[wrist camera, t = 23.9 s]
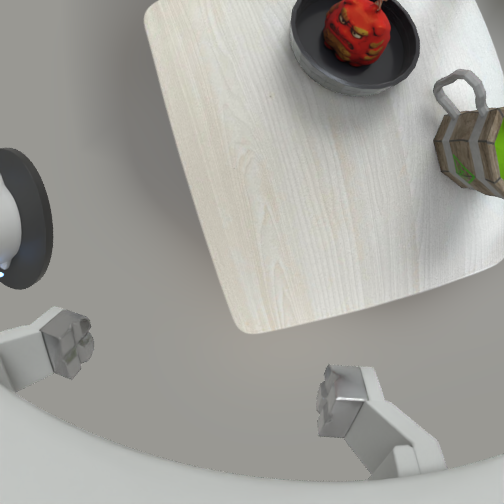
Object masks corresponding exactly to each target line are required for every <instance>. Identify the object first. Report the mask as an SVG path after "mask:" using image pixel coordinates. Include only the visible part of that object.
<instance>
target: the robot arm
mask: <svg viewBox="0 0 504 504" xmlns="http://www.w3.org/2000/svg"><path fill="white" fill-rule="evenodd" d="M21 234H22V231H21V220H20V215H19V211H18V208H17V205H16V202H15V200H14V198H13V196H12V195H11V193H10V192H9V190H8V189H7V188H6V186H5V185H4V182H3V179H2V176H1V174H0V267H1V268H2V269H4V270H5V269H8V268H9V266H10V263H11V259H12V258H13V257H14V256H15V255H16V254H17V252H18V250H19V247H20V243H21ZM2 276H3V273H1V272H0V277H2ZM90 328H91V324H90V320H89V319H88V318H87V317H86V316H83V315H80V314H77V313H75V312H72V311H69V310H65V309H62V308H60V307H57V306H55V307H52V308H51V309H49V310H48V311H47V312H45V313H44V314H43V315H42V316H41V317H39V318H38V319H37V320H36V321H35V322H33V323H32V324H31V325H30V326H27V325H25V326H20V327H17V328H13V329H9V330H5V331H1V332H0V504H504V454H501V455H498V456H495V457H492V458H488V459H485V460H482V461H478V462H475V463H471V464H467V465H463V466H459V467H455V468H450V469H448V468H447V466H446V462H445V459H444V457H443V454H442V451H441V448H440V445H439V443H438V441H437V440H436V439H435V438H434V437H433V436H431V435H430V434H429V433H428V432H426V431H425V430H424V429H423V428H421V427H420V426H419V425H418V424H417V423H415V422H414V421H413V420H412V419H410V418H409V417H408V416H407V415H406V414H404V413H403V412H402V411H401V410H400V409H398V408H397V407H396V406H395V405H393V404H392V403H391V402H390V401H385V399H384V396H383V393H382V390H381V387H380V384H379V381H378V378H377V375H376V372H375V369H374V368H373V367H364V366H358V367H356V366H342V365H330V364H329V365H328V366H327V368H326V370H325V373H324V376H325V381H324V382H322V383H321V384H320V387H319V390H318V395H317V403H316V407H317V411H318V412H319V414H320V416H319V418H318V421H317V422H318V436H322V437H337V438H344V440H345V441H346V442H347V444H348V445H349V446H350V448H351V449H352V450H353V452H354V453H355V454H356V455H357V457H358V458H359V459H360V461H361V462H362V463H363V464H364V466H365V467H366V468H367V470H368V471H369V472H370V473H371V476H370V477H369V478H368V480H361V481H301V480H285V479H273V478H264V477H255V476H247V475H240V474H234V473H228V472H222V471H217V470H212V469H207V468H202V467H197V466H193V465H189V464H185V463H181V462H177V461H173V460H169V459H165V458H161V457H158V456H155V455H152V454H149V453H145V452H142V451H139V450H136V449H133V448H130V447H127V446H125V445H122V444H119V443H116V442H114V441H111V440H108V439H106V438H104V437H101V436H99V435H96V434H94V433H91V432H89V431H87V430H85V429H82V428H80V427H77V426H76V425H73V424H71V423H69V422H67V421H65V420H63V419H61V418H59V417H57V416H55V415H53V414H51V413H49V412H47V411H45V410H44V409H42V408H40V407H38V406H36V405H34V404H33V403H31V402H29V401H28V400H26V399H24V398H22V397H21V396H19V395H17V394H16V392H18V391H19V390H22V389H24V388H26V387H28V386H30V385H32V384H34V383H36V382H38V381H40V380H42V379H44V378H46V377H48V376H50V375H52V374H54V373H56V374H59V375H61V376H64V377H66V378H69V379H71V380H72V379H73V378H74V377H75V376H76V374H77V373H78V372H79V371H80V370H81V364H82V363H84V362H87V361H88V360H89V359H90V357H91V355H92V353H93V350H94V341H93V337H92V335H91V334H90V333H89V330H90Z"/></svg>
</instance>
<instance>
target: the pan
mask: <svg viewBox="0 0 504 504" xmlns="http://www.w3.org/2000/svg"><path fill="white" fill-rule="evenodd" d="M340 1H342V0H297V2H296V4H295V6H294V7H293V9H292V16H291V26H290V39H291V46H292V50H293V53H294V55H295V58H296V60H297V61H298V63H299V65H300V66H301V67H302V69H303V70H304V71H305V72H306V73H307V74H308V75H309V76H310V77H311V78H312V79H313V80H315V81H316V82H317V83H319V84H320V85H322V86H323V87H325V88H327V89H329V90H331V91H334V92H337V93H340V94H343V95H349V96H360V97H361V96H370V95H375V94H377V93H380V92H383V91H385V90H387V89H389V88H391V87H392V86H394V85H396V84H398V83H399V82H401V81H402V80H404V79H406V78H407V77H408V76H409V74H410V73H411V72H412V71H413V69H414V68H415V66H416V63H417V61H418V58H419V54H420V40H419V36H418V33H417V29H416V26H415V24H414V23H413V21H412V19H411V17H410V15H409V14H408V12H407V11H406V10H405V9H404V8H403V7H402V6H401V4H400V3H399V2H398V1H397V0H387V1H382V5H381V10H382V11H383V12H384V13H385V15H386V17H387V18H388V21H389V23H390V27H391V30H390V40H389V42H388V44H387V46H386V48H385V50H384V51H383V53H382V54H381V56H380V57H379V59H378V60H377V61H375V62H374V63H372V64H369V65H362V66H359V67H353V66H351V65H350V64H348V63H347V62H341V61H340V60H339V59H337V57H336V55H335V51H334V50H331V49H329V48H327V47H326V46H325V44H324V42H325V39H324V35H323V30H324V27H325V19H326V13H327V12H328V11H329V10H330V8H331V7H332V6H333V5H335V4H336V3H339V2H340ZM369 1H371V2H373V3H374V2H376V1H378V0H369Z"/></svg>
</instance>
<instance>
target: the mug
mask: <svg viewBox="0 0 504 504" xmlns="http://www.w3.org/2000/svg"><path fill="white" fill-rule="evenodd" d="M457 79H464V80H465V81H466V82H467V83H468V84H469V85H470V86H471V87H472V88H473V90H474V93H475V95H476V98H475V103H476V108H477V110H475V111H463V112H459V110H458V109H457V108H456V107H455V105H454V104H453V103H452V101H451V100H450V99H449V98H448V97H447V96H446V95H445V93H444V91H443V89H442V87H443V86H446V85H448V84H451V83H453V82H455V81H456V80H457ZM433 93H434V95H435V97H436V100H437V101H438V102H439V104H440V105H441V106H442V107H443V108H444V109H445V110H446V112H447V113H448V114H447V115H444V117H443V120H442V122H441V125H440V127H439V129H438V132H437V134H436V136H435V138H434V144H435V148H436V152H437V156H438V160H439V165H440V169H441V172H442V173H444V174H445V175H446V176H448V177H449V178H450V179H451V180H453V181H454V182H455V183H456V184H458V185H459V186H460V187H461V188H470V189H473V190H477V191H479V192H481V193H483V194H485V195H489V196H496V197H499V198H502V199H504V107H501V108H488V106H487V104H486V91H485V89H484V86H483V84H482V81H481V80H480V79H479V78H478V77H477V76H476V75H475V74H474V73H473V72H472V71H471V70H463V69H458V70H456V71H454V72H453V73H451V74H450V75H448V76H446V77H444V78H442V79H440V80H438V81H437V82H436V83H435V85H434V88H433Z"/></svg>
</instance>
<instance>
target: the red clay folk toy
mask: <svg viewBox="0 0 504 504" xmlns="http://www.w3.org/2000/svg"><path fill="white" fill-rule="evenodd" d="M382 1H387V0H378V1H376V2H374V3H373V2H371V1H369V0H342V1H340V2H339V3H336V4H335V5H333V6H332V7H331V8H330V10H329V11H328V12H327V13H326V19H325V27H324V30H323V35H324V39H325V42H324V44H325V46H326V47H327V48H329V49H331V50H334V51H335V55H336V57H337V59H339V60H340V61H341V62H347V63H348V64H350V65H351V66H353V67H359V66H362V65H369V64H372V63H374V62H375V61H377V60H378V59H379V57H380V56H381V54H382V53H383V51H384V50H385V48H386V46H387V44H388V42H389V40H390V30H391V27H390V23H389V21H388V18H387V17H386V15H385V13H384V12H383V11H382V10H381V5H382Z"/></svg>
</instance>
